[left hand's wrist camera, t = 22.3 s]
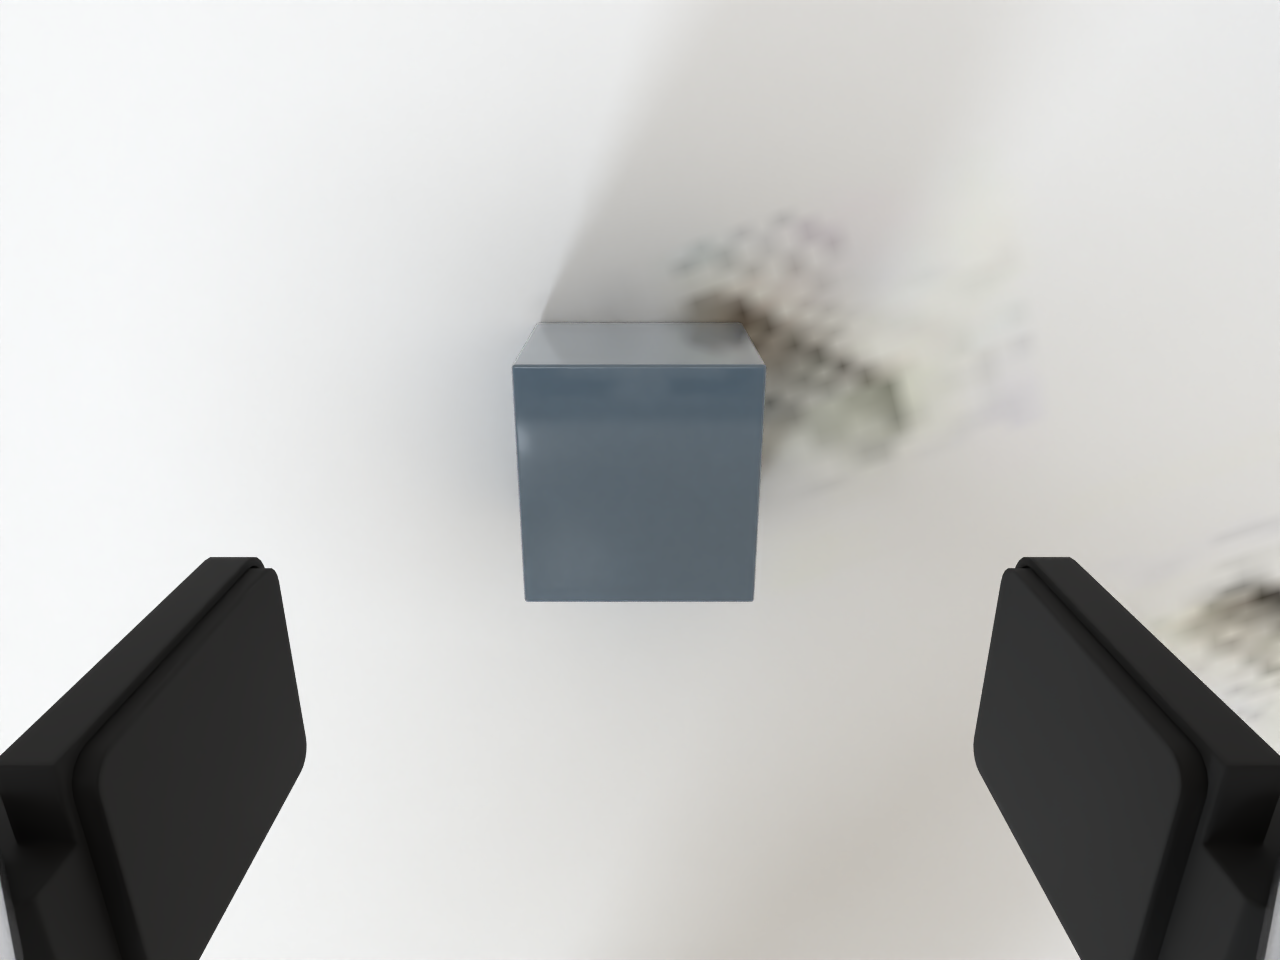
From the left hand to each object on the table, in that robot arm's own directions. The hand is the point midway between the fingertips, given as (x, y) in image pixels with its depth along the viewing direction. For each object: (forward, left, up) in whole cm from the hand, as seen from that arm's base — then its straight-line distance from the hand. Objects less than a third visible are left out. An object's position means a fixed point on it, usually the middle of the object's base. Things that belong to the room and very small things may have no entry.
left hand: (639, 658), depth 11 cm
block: (0, 0, -10) cm, 10 cm away
